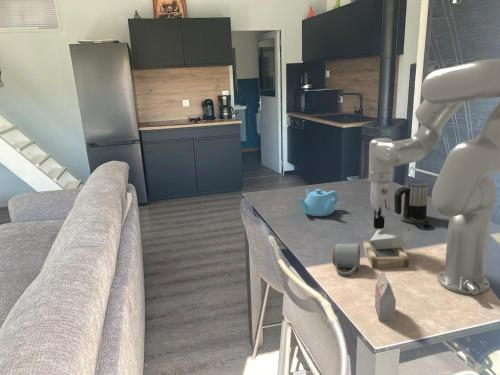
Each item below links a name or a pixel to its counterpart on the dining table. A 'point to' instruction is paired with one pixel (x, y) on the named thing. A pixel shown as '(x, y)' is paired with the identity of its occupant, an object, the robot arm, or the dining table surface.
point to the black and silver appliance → (413, 201)
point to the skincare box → (391, 238)
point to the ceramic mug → (346, 257)
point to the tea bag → (384, 300)
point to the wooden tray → (386, 257)
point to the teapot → (319, 202)
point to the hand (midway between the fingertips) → (378, 227)
